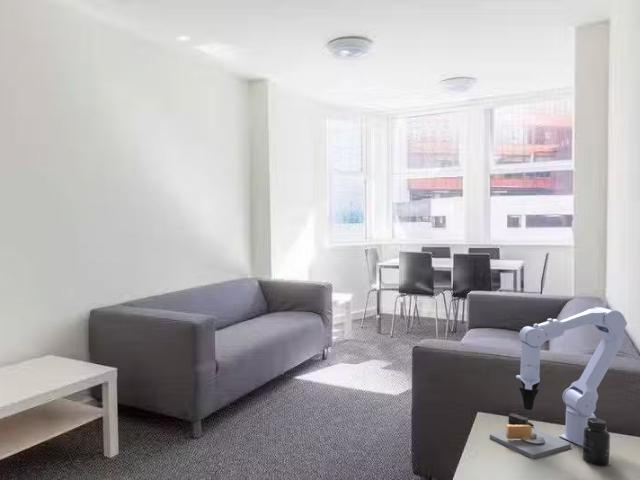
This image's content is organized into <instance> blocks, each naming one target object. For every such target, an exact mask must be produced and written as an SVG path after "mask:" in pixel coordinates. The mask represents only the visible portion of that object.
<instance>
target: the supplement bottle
mask: <svg viewBox="0 0 640 480" xmlns="http://www.w3.org/2000/svg"><path fill="white" fill-rule="evenodd" d="M607 424H608V423H607V421H605V420H604V419H601V418H597V417H596V418H588V423H587V425H588V427H586V428H585V429H584V431H583V446H582V458H583V459H582V460H584V462H586V463H589V464H591V465H594V466H598V467H606V466H608V465H609V464H610V451H611V449H610V447H611V434H610V432H609V431H608V430H607V429H608V428H607Z"/></svg>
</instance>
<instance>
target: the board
mask: <svg viewBox="0 0 640 480" xmlns="http://www.w3.org/2000/svg"><path fill="white" fill-rule="evenodd" d="M532 433H534V434H536V435H539V436H541V437H543V438H544V439H545V442H544V443H543V444H532V443H528V442H526V441H523V440H522V439H508V438H507V437H506V430H503V431H498V432H493V433H490V434H489V439H491V440H493V441H495V442H497V443H498V444H501V445H503V446H505V447H507V448H509V449H511V450H513V451H515V452H517V453H520V454H521V455H524V456H525V457H528V458H530V459H532V460H534V459H538V458H541V457H545V456H548V455H551V454H555V453H558V452H561V451H564V450H567V449H568V450H569V449H571V448H572V444H571V442H568V441H565V440H562V439H561V438H558V437H555V436H553V435H552V434H551V435H550V434H548V433H546V432H543V431H542V430H539V429H536V428H534V427H532Z"/></svg>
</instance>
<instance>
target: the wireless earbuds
mask: <svg viewBox="0 0 640 480" xmlns="http://www.w3.org/2000/svg"><path fill="white" fill-rule="evenodd" d="M507 418H508V419H507V420H508V421H507V422H508V425H530V426H532V428H534V426H535V425H534V424H533V423H531V422H529V418H528V417H525V416H522V415H520V414H517V413H513V412H511V413H509V414H508V417H507Z"/></svg>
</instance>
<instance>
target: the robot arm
mask: <svg viewBox="0 0 640 480" xmlns="http://www.w3.org/2000/svg"><path fill="white" fill-rule="evenodd" d="M587 325H591V326H592V325H593V326H595V328H597V330H598V332H599V334H600V336H601V340H600V342H599V343H598V346H597V347H596V349H595V350H594V352H593V355H592V356H591V358H590V360H589V361H588V363H587V365H586V366H585V368H584V369H583V372H582V374H581V375H580V377H579V379H577V380H575V381H573V382H572V383H571V384H570V386H569V387H567V388H566V389H565V390H564V391H563V393H562V401H563V403H564V404H565V407H566V408H565V427H564V428H565V430H564V431H565V433H562V434H559V438H560V439H561V438H562V439H564V440H566V441H569V442H570V443H574V444H576V445H579V446H582V447H583V431H584V429H585V428H586V427H588V425H587V423H588V418H597V417H596V415H595V411H596V409H597V401H598V399H599V394H598V390H597V389H598V388H599V386H600V384H601V383H602V380H603V379H604V377H605V375H606V373H607V371H608V370H609V368H610V366H611V364H612V363H613V360H614V359H615V358H616V356H617V354H618V353H619V351H620V348H621V347H622V345H623V343H624V340H625V339H624V337H625V329H626V327H627V325H628V321H627V320H626V318H625V316H624V314H623V313H622V312H621V311H619V310H617V309H616V310H614V309H608V308H606V307H603V306H595V307H593V308H588V309H587V310H585V311H582V312H579V313H577V314H574V315H572V316H569V317H567V318H564V319H562V320H559V319H556V318H547V320H546V321H543V322H541V323H534V324H533V326H529V325H527V326H524V327H523V328H521V330H520V331H519V333H518V335H517V336H518V339H519V340H520V343H521V344H520V345H521V347H520V371H519V372H520V374H519V375H518V374H517V375H515V378H516V379H517V380H520V382H521V385H519V386H518V387H519V388H518V389H519V391H520V394H521V398H522V400H523V401H522V402H523V409H524V410H528V411H532V409H533V407H534V402H535V399H536V397H537V394H538V392H539V389H538V386H539V385H540V382H541V378H540V370H541V369H540V367H541V346H542V345H543V344H544V343H545V342H547V341H550V340H553V339H556V338H560V337H562V336H564V334H565V332H566V331H568V330H572V329H575V328H579V327H583V326H587Z"/></svg>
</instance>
